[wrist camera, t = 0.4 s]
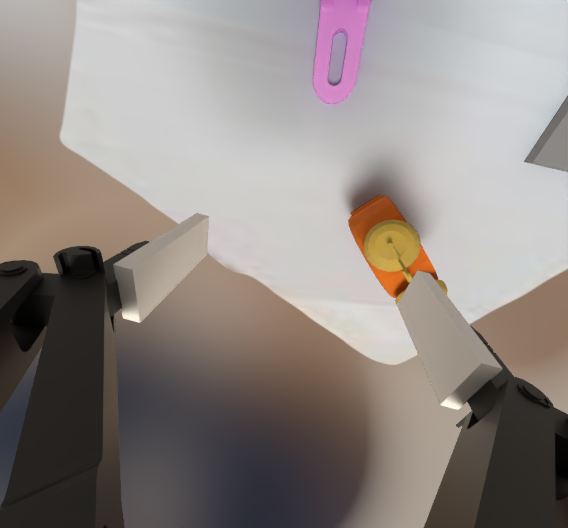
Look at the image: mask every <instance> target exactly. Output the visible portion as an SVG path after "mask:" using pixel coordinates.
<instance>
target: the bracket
mask: <svg viewBox="0 0 568 528" xmlns="http://www.w3.org/2000/svg"><path fill="white" fill-rule="evenodd" d="M371 1H372V0H321V9H320V18H319V28H318V37H317V46H316V55H315V65H314V74H313V84H314V89H315V92H316V94H317V96H318V97H319V98H320V99H321V100H322V101H323V102H325V103H328V104H336V103H339V102H341V101H343V100H344V99H345V98H347V96H348V95H349V94H350V93H351V91H352V89H353V87H354V85H355V82H356V78H357V73H358V67H359V62H360V56H361V51H362V45H363V40H364V34H365V28H366V23H367V17H368V12H369V7H370V4H371ZM339 32H342V33H344V34H345V35H346V37H347V46H346V52H345V59H344V65H343V72H342V78H341V82H340V83H339V84H338V85H336V86H332V85H330V84H329V82H328V79H327V78H328V70H329V63H330V55H331V48H332V41H333V38H334V36H335V35H336V34H337V33H339Z"/></svg>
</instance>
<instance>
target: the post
mask: <svg viewBox="0 0 568 528" xmlns="http://www.w3.org/2000/svg"><path fill="white" fill-rule="evenodd" d="M524 162H527V163H531V164H536V165H540V166H544V167H549V168H553V169H558V170H562V171H566V172H568V97H567V98H566V100H565V101H564V103H563V104H562V106H561V107H560V109H559V110H558V112H557V113H556V115H555V116H554V118H553V119H552V121H551V122H550V124H549V125H548V127H547V128H546V130H545V131H544V133H543V134H542V136H541V137H540V139H539V140H538V142H537V143H536V145H535V146H534V148H533V149H532V151H531V152H530V154H529V155H528V157H527V158H526V160H525V161H524Z"/></svg>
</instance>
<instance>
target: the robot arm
mask: <svg viewBox="0 0 568 528" xmlns="http://www.w3.org/2000/svg"><path fill="white" fill-rule="evenodd" d="M208 223H209V216H206V215H202V214H198V213H196V214H195V215H193V216H191V217H190V218H188V219H187V220H185V221H183V222H182V223H180V224H178V225H177V226H175V227H174V228H172V229H170V230H169V231H167V232H165V233H164V234H162V235H160V236H159V237H157V238H156V239H154V240H152V241H151V242H149V241H144V242H140V243H137V244H134V245H132V246H131V247H129V248H127V250H124V251H122V252H121V253H120V254H117V255H115V256H113V257H112V258H110V259H108V260H106V261H105V262H103V259H102V255H101V252H100V250H99V249H97V248H95V247H89V246H76V247H70V248H66V249H63V250H61V251H59V252H57V253H56V254H55V255H54V256H53V257H54V260H55V263H56V266H57V269H58V273H59V274H51V273H41V270H40V267H39V266H38V264H37V263H35V262H33V261H25V260H21V261H10V262H4V263H1V264H0V412H1V411H2V409H3V407H4V406H5V404H6V403H7V401H8V400H9V398H10V396H11V395H12V393H13V392H14V390H15V388H16V387H17V385H18V384H19V382H20V380H21V379H22V377H23V376H24V374H25V372H26V371H27V369H28V368H29V366H30V365H31V363H32V361H33V360H34V358H35V357H36V355H37V354H38V352H39V350H40V349H41V347H42V351H41V354H40V359H39V363H38V367H37V370H36V375H35V379H34V383H33V387H32V391H31V395H30V399H29V404H28V408H27V411H26V415H25V420H24V424H23V428H22V432H21V436H20V440H19V444H18V448H17V452H16V456H15V460H14V464H13V468H12V472H11V476H10V481H9V485H8V489H7V492H6V495H5V499H4V500H3V502H2V504H1V506H0V528H124V519H123V512H122V503H121V481H120V450H119V422H118V420H119V419H118V389H117V359H116V330H115V317H114V314H115V313H116V312H117V311H118V310H119V309H122V314H123V318H124V319H128V320H132V321H135V322H139V323H140V322H141V321H142V320H143V319H144V318H145V317H146V316H147V315H148V314H149V313H150V312H151V311H152V310H153V309H154V308H155V307H156V306H157V305H158V304H159V303H160V302H161V301H162V300H163V299H164V298H165V297H166V296H167V295H168V294H169V293H170V292H171V291H172V290H173V289H174V288H175V287H176V286H177V285H178V284H179V283H180V282H181V280H182V279H184V277H185V276H186V275H187V274H188V273H189V272H190V271H191V270H192V269H193V268H194V267H195V266H196V265H197V264H198V263H199V262H200V261H201V260H202V259H203V258H204V257H205V256H206V255H207V243H208ZM397 306H398V308H399V311H400V313H401V315H402V318H403V320H404V322H405V325H406V327H407V329H408V332H409V334H410V336H411V339H412V341H413V343H414V346H415V348H416V350H417V353H418V355H419V357H420V360H421V362H422V364H423V366H424V369H425V371H426V374H427V376H428V378H429V381H430V383H431V385H432V387H433V390H434V392H435V394H436V397H437V399H438V401H439V404H440V405H442V406H446V407H449V408H453V409H457V410H458V409H460V408H461V407H462V406H463V405H464V404H465V403H466V402H468V403H469V405H470V407H471V409H472V411H471V412H470V413H469V414H468V415H467V416H465V417H464V418H463V419H462V420H461V421H460V422H459V423H458V424H456V426H457V427H460V426H462V429H461V432H460V435H459V437H458V440H457V442H456V445H455V448H454V450H453V453H452V455H451V458H450V461H449V463H448V466H447V468H446V471H445V474H444V476H443V479H442V482H441V484H440V487H439V489H438V492H437V495H436V498H435V500H434V503H433V505H432V508H431V510H430V513H429V516H428V518H427V521H426V523H425V526H424V528H568V414H566V413H564V412H562V411H560V410H558V409H556V408H554V407H553V404H552V403H551V401H550V400H549V399H548V398H547V397H546V396H545V395H544V394H543V393H542V392H541V391H540V390H539V389H537V388H536V387H535V386H533V385H532V384H530V383H528V382H527V381H525V380H523V379H520V378H517V377H514V376H513V375H512V374H511V373H510V371H509V370H508V369H507V367H506V366H505V365H504V364H503V362H502V361H501V360H500V359H499V357H498V356H497V355H496V353H494V352H493V349H492V348H491V347H490V346H489V345H487V344H488V343H487V342H486V341H485V339H484V338H483V337H482V335H481V334H480V333H478V332H477V331H476V330H475V329H474V328H473V327H471V326H470V325H469V324H468V323H467V321H466V320H465V319H464V317H463V316H462V315H461V313H460V312H459V311H458V310H457V308H456V307H455V306H454V304H453V303H452V302H451V300H450V299H449V298H448V296H447V295H446V294H445V293H444V291H443V290H442V289H441V287H440V286H439V285H438V283H437V282H436V281H435V279H434V278H433V277H432V276H431V274H430V273H426V272H422V271H418V270H417V272H416V274H415V275H414V277H413V279H412V280H411V282H410V284H409V285H408V287H407V289H406V290H405V292H404V294H403V295H402V297H401V299H400V300H399V302H398V304H397Z"/></svg>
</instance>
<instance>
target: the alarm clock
mask: <svg viewBox="0 0 568 528" xmlns="http://www.w3.org/2000/svg"><path fill="white" fill-rule="evenodd" d="M351 215H352V217H350V219H349V220H348V221H349V227H350V230H351V232H352V234H353V237H354V239H355V241H356V243H357V245H358V246H359V248H360V250H361V252H362V254H363V256H364V257H365V259H366V261H367V263H368V264H369V266H370V268H371V269H372V271H373V272H374V274H375V276H376V277H377V279H378V280H379V282H380V283H381V285H382V286H383V287H384V289H385V290H386V291H387V292H388V294H389V295H391V296H392V297H393V298H396V300H395V301H396V304H398V302H399V300H400V299H401V297H402V295H403V294H404V292H405V290H406V289H407V287H408V285H409V284H410V282H411V280H412V279H413V277H414V275H415V274H416V272H417V270H418V271H422V272H426V273H430V274H431V276H432V277H433V278H434V279H435V281H436V282H437V283H438V285H439V286H440V287H441V289H442V290H443V291H444V293H445V294H446V295H447V288H446V285H445V283H444V282H443V281H442V280H438V276H437V274H436V271H435V269H434V268H433V266H432V264H431V262H430V260H429V258H428V256H427V255H426V253H425V251H424V249H423V248H422V246H421V244H420V238H419V236H418V233H417V231H416V230H415V229H414V228H413V227H412V226H411V225H409V224H407V222H406V221H405V219H404V218H403V216H402V215H401V213H400V212H399V211H398V209H397V208H396V206H395V205H394V204H393V202H392V201H391V200H390V199H389V198H388V197H387V196H384V197H382V195H381V194H380V195H379V196H377V197H376V198H374V199H372V200H371V201H369V202H368V203H366V204H364V205H363V206H361V207H359V208H358V209H356V210H355V211H353V212H351Z"/></svg>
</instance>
